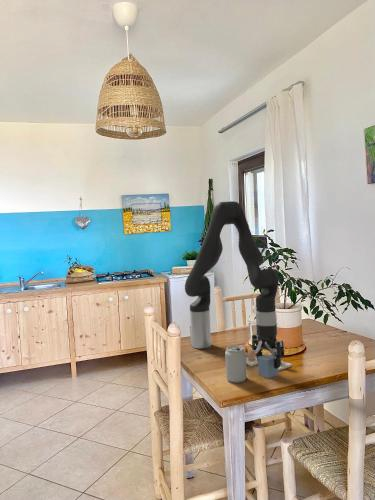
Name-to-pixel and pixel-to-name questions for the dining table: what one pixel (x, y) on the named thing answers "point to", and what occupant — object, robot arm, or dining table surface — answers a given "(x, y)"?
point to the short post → (251, 358)
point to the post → (283, 364)
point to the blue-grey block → (266, 366)
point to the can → (235, 364)
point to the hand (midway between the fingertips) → (268, 365)
